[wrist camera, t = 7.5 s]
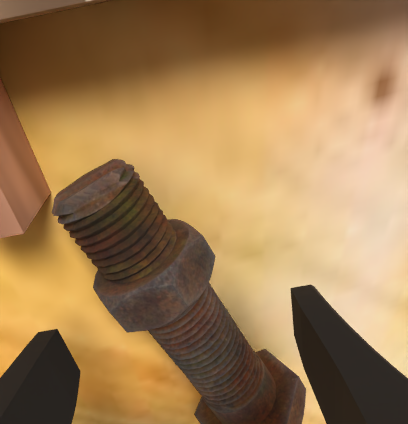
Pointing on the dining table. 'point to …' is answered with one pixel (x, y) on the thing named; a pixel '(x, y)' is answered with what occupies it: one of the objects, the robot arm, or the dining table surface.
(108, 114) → the dining table surface
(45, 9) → the walnut fence
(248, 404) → the bolt
